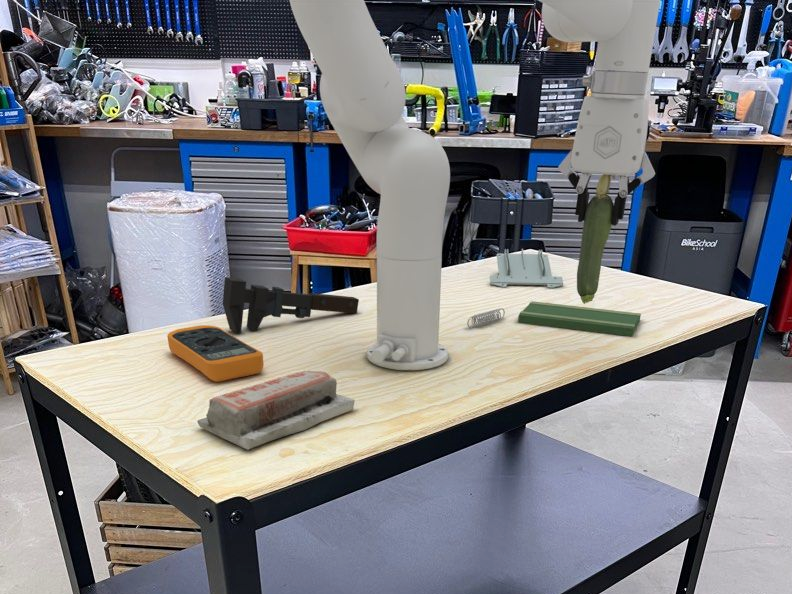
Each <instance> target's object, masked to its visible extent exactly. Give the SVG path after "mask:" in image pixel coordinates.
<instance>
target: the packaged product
mask: <svg viewBox="0 0 792 594" xmlns="http://www.w3.org/2000/svg"><path fill="white" fill-rule="evenodd" d="M337 383H338V382H337V379H336V378H334V377H333V376H331V375H330V374H329V373H328V372H326V371H322V370H319V371H316V370H315V371H314V370H303V371H297V372H294V373H289V374H286V375H284V376H281V377H277V378H274V379H271V380H267V381H264V382H260V383H256V384H254V385H250V386H247V387H243V388H241V389H237V390H234V391H231V392H226V393H223V394H220V395H217V396H214V397H212V398H210V399H209V405H208V409H207V413H206V415H205V416H206V417H203V418H200V419H198V420H197V421H196V422H197V425H198V426H199V427H200V428H201V429H203V430H205V431H207V432H209V433H212V434H214V435H215V436H218V437H219V438H221V439H223V440H226V441H228V442H230V443H232V444H234V445H237V446H238V447H240V448H243V449H244V450H247V451H249V450H251V449H253V448H256V447H258V446H262V445H264V444H266V443H270V442H272V441H274V440H277V439H280V438H283V437H286V436H289V435H292V434H296V433H299V432H302V431H306V430H308V429H310V428H312V427H314V426H315V425H317V424H319V423H321V422H324V421H327V420H330V419H332V418H335V417H338V416H340V415H343V414H346V413H349V412H351V411H353V410H354V406H355V401H356V400H355V399H353V398H351V397H347V396H344V395H342V394H337Z"/></svg>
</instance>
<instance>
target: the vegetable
mask: <svg viewBox="0 0 792 594" xmlns="http://www.w3.org/2000/svg"><path fill="white" fill-rule="evenodd" d="M611 178H612V179H613V180H616V175H606V174H601V177H600V178H599V179H598V181H597V183H596V188H595V192H596V194H595V195H593V196H592V197H591V199H589V201H588V206H587V208H586V212H585V217H584V221H583V224H582V225H583V226H582V232H581V233H582V234H581V243H580V250H579V257H578V265H577V271H576V291H577V294H578V296H579V297H580V299H581V302H582V303H583V304H584V305H585V304H588V303H590V302H592V301H593V300H594V298H595V295H596V294H597V292H598V290H599V289H598V288H599V281H600V276H601V268H602V261H603V260H602V259H603V255H604V250H605V247H606V244H607V242H608V239H609V236H610V232H611V229H612V226H613V225H612V224H611V221H612V214H613V208H614V201H613V199H612V197H611V196H610V195H608V194H610V187H611V183H612V179H611Z"/></svg>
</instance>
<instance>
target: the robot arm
mask: <svg viewBox="0 0 792 594" xmlns="http://www.w3.org/2000/svg"><path fill="white" fill-rule="evenodd" d="M537 1H539V2H540V3H542V5H541V6H542V7H541V19H542V23H543V26H544V28H545V30H546V31H547V33H548V34H549V35H550V36H551V37H552V38H554V39H556V40H557V41H560V42H564V43H590V42H594V43H595V42H597V45H596V46H597V48H596V55H595V62H594V68H593V69H594V70H593V71H592V73H591V74H588V75H583V76H582V83H581V86H582V87H587V88H589V90H590V91H589V92H590V95H587V96H584V97H583V101H582V105H581V108H580V112H579V115H578V120H577V123H576V124H577V125H576V130H575V134H574V140H573V146H572V149H571V150H570V151H569V152H568V153H567V155H566V156H565V158H563V160H562V161H561V162H560V164H559V165H558V167H557V170H558V171H559V172H560V173H561V174H562V175H563V176H564V177H565V178H566V179H567V180H568V182H570V184H571V186H572V187H573V188H574V189H575V191H576V194H577V198H576V204H575V205H576V206H575V211H574V213H575V214H574V215H575V216H577V223H584V217H585V212H586V208H587V206H588V203H589V202H590V193H589V188H588V187H589V184H590V181H591V179H592V176H593V174H595V175H603V174H606V175H612V176H613V175H615V176H617V177H618V178H617V179H618V191H617V196H616V197H615V198H614V201H613V204H614V208H613V214H612V221H611V224H612V226H617V225H618V224H619V222H620V220H621V221H622V220H623V219H624V215H625V210H626V204H627V198H628V196H629V195H630V194H631V193H633V191H635V190H636V189H637V188H638V187H640V186H641V185H643V184H645V183H646V182H648V181H649V180H651V179H653V178H654V177H655V175H656V172H655V169H654V167H653V165H652V163H651V160H650V159H649V157H648V155H647V153H646V146H647V138H648V137H647V136H648V126H649V99H648V98H645V94H646V89H647V83H648V78H649V77H648V76H649V71H650V65H651V58H652V52H653V47H654V40H655V36H656V28H657V23H658V16H659V11H660V5H661V0H537ZM289 4H290V8H291V11H292V14H293V16H294V20H295V21H296V24H297V27H298V28H299V30H300V33H301V35H302V37H303V39H304V41H305V43H306V45H307V47H308V49H309V50H310V53H311V55H312V57H313V60H314V61H315V63H316V65H317V66H318V69H319V70H320V72H321V74H320V75H321V76H320V81H319V93H320V94H319V95H320V100H321V104H322V106H323V109H324V112H325V114H326V116H327V118H328V120H329V123H330V124H331V125H332V127H333V130H334V131H335V133H336V135H337V136H338V138H339V141H341V144H342V145H343V147H344V148H345V150H346V152H347V154H348V156H349V157H350V159H351V161H352V162H353V164H354V166H355V167H356V169H357V171H358V173H359V175H361V178H362V179H363V180H364V182H365V183H366V184H367V186H369V188H371V190H373V191H374V192H376V193H377V194H379V195H380V199H379V201H380V202H379V209H378V215H377V222H376V223H377V226H376V342H375V343H372V344H371V345H370V346H369V347H368V348H367V350H366V357H367V359H368V361H369V362H370V363H372V364H374V365H375V366H378V367H382V368H385V369H391V370H397V371H423V370H428V369H433V368H437V367H440V366H442V365H443V364H445V363H446V362H447V361H448V359H449V351H448V348H446V347H445V346H444V345H442V344H440V343H439V341H440V340H439V338H440V337H439V336H440V315H441V314H440V313H441V312H440V311H441V291H442V289H441V288H442V287H441V286H442V266H443V265H442V264H443V263H442V261H443V253H442V252H443V238H444V237H443V236H444V221H445V213H446V207H447V202H448V196H449V192H450V185H451V184H450V183H451V169H450V168H451V167H450V162H449V159H448V156H447V153H446V151H445V150H444V148H443V146H442V145H441V143H440V142H439V141H438V140H437V139H436V138H435V137H433V136H432V135H431V134H428V133H426V132H424V131H422V130H417V129H415V128H414V129H413V128H410V127H409V125H408V123H407V121H406V120H405V117H404V116H403V113H404V110H405V107H406V102H407V101H406V99H407V98H406V97H407V96H406V95H407V92H406V86H405V83H404V80H403V78H402V75H401V73H400V71H399V69H398V67H397V65H396V63H395V61H394V60H393V58H392V56H391V54H390V52H389V51H388V49H387V46H386V45H385V43H384V42H385V41H384V40H383V38H382V37H381V34H380V33H379V30H378V28H377V27H376V25H375V22H374V20H373V18H372V17H371V14H370V11H369V10H368V9H369V8H368V7H367V5H366V2H365V0H289ZM641 170H642V173H641V174H640V175H638V176H636V177H635V178H634V179H632V180H630V176H632V175H635V174H637V173H638V172H639V171H641ZM577 172H579V173H581V174H580V175H579V174H578V173H577Z"/></svg>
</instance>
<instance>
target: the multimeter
mask: <svg viewBox="0 0 792 594" xmlns="http://www.w3.org/2000/svg"><path fill="white" fill-rule="evenodd" d="M167 342H168V343H167V344H168V348H169V350H170V352H171V353H172V354H174V355H175V356H177V357H179V358H180V359H182V360H183V361H185V362H186V363H188V364H190V365H191V366H192V367H194V368H195V369H196V370H198V371H199V372H201V373H202V374H203V375H204V376H206V377H207V378H208V379H209V380H210V381H213V382H216V383H220V382H224V381H229V380H234V379H239V378H243V377H248V376H252V375H253V376H254V375H257V374H260V373H262V371H263V370H264V354H263V352H262V351H260V350H259V349H257V348H255V347H253V346H251V345H249V344H247V343H246V342H245V341H243V340H241V339H239V338H237V337H235V336H234V335H232V334H231V333H229V332H227V331H225V330H224V329H223V328H221V327H219V326H216V325H208V324H207V325H205V324H204V325H201V324H200V325H194V326H189V327H183V328H177V329H175V330H172V331H170V332H168V333H167Z"/></svg>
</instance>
